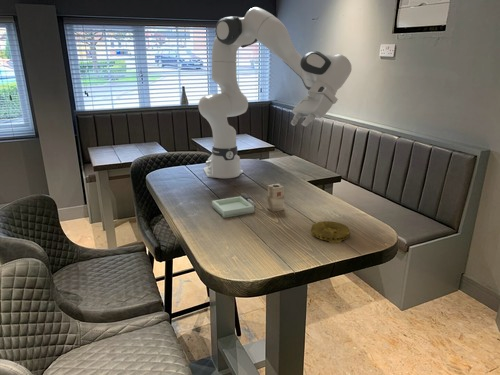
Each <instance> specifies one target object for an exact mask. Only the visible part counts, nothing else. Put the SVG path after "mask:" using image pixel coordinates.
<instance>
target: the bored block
mask: <svg viewBox="0 0 500 375" xmlns="http://www.w3.org/2000/svg"><path fill="white" fill-rule="evenodd" d="M284 207H285V186H284V185H281V184H280V183H274V184H273V183H271V184H267V209H269V210H270V211H271V212H280V211H283V210H285V208H284Z"/></svg>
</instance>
